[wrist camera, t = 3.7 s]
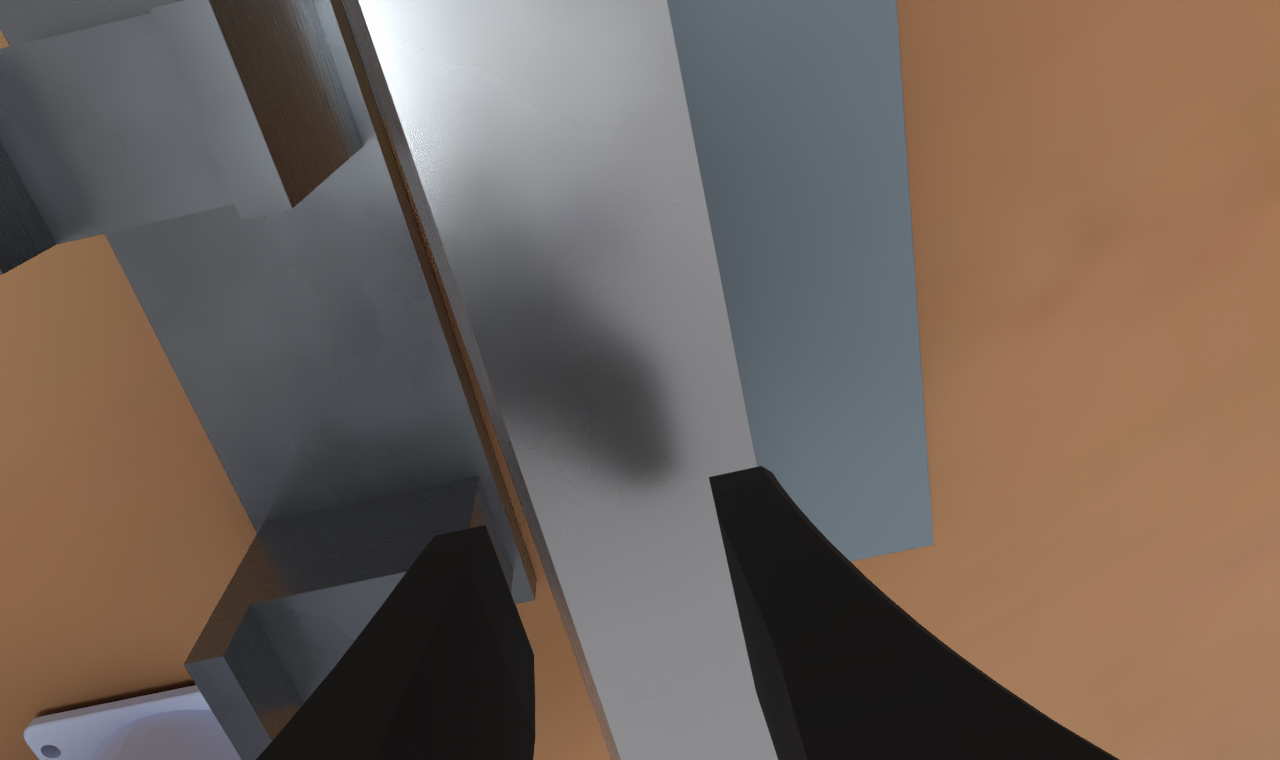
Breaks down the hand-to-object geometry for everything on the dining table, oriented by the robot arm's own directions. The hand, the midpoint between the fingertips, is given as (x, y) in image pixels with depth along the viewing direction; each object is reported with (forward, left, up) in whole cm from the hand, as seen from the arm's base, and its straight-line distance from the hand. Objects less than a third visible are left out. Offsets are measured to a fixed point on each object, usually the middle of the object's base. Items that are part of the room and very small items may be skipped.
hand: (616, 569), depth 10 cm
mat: (0, -3, -11) cm, 11 cm away
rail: (0, 0, -4) cm, 4 cm away
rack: (0, +7, -11) cm, 12 cm away
